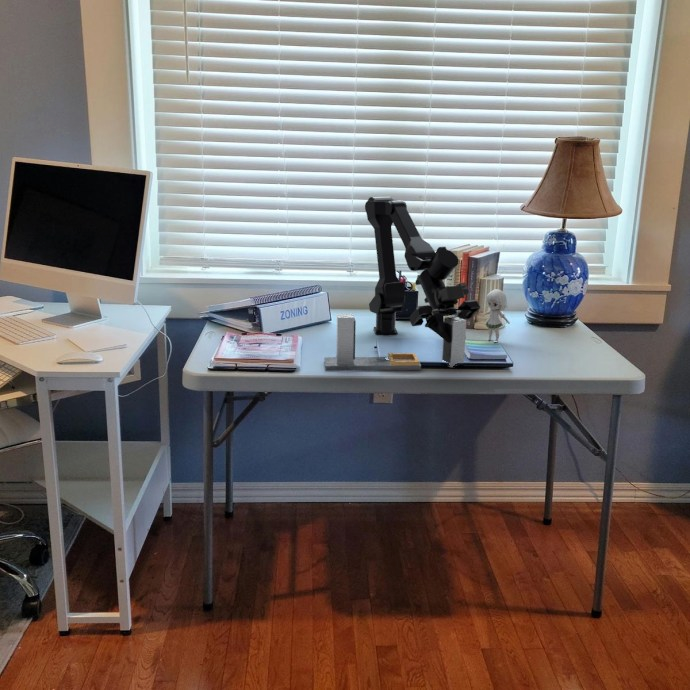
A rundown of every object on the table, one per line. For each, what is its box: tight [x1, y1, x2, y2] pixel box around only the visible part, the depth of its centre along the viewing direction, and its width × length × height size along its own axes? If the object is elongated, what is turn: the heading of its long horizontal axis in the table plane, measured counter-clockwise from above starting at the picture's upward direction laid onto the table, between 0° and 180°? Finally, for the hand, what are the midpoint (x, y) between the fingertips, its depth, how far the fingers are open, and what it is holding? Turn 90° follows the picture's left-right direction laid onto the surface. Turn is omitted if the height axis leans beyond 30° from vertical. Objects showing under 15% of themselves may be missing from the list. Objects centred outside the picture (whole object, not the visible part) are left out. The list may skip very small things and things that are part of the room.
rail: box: [324, 313, 422, 371], centre depth 196 cm, size 7×24×13 cm, turn 94°
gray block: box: [441, 316, 468, 368], centre depth 198 cm, size 4×4×12 cm
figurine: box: [481, 288, 511, 343], centre depth 219 cm, size 10×6×15 cm, turn 40°
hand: (457, 341), depth 197 cm, fingers closed on gray block, 4 cm apart
